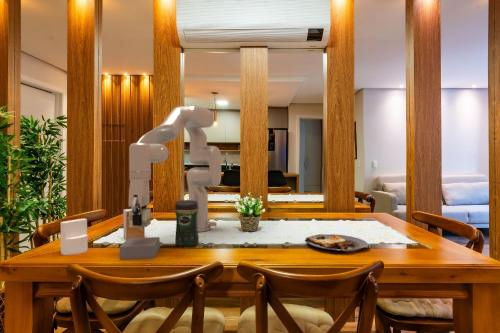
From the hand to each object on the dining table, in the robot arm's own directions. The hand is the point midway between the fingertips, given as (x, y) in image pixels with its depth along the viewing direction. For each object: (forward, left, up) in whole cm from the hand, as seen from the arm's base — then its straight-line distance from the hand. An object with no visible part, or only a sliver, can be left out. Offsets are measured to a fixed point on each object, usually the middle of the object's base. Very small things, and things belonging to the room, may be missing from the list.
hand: (140, 223), depth 115 cm
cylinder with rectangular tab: (+27, -4, -12) cm, 30 cm away
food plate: (-77, -9, -12) cm, 79 cm away
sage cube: (0, 0, -1) cm, 1 cm away
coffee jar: (-15, -13, -12) cm, 23 cm away
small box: (+11, -24, -12) cm, 29 cm away
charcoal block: (0, 0, -12) cm, 12 cm away
